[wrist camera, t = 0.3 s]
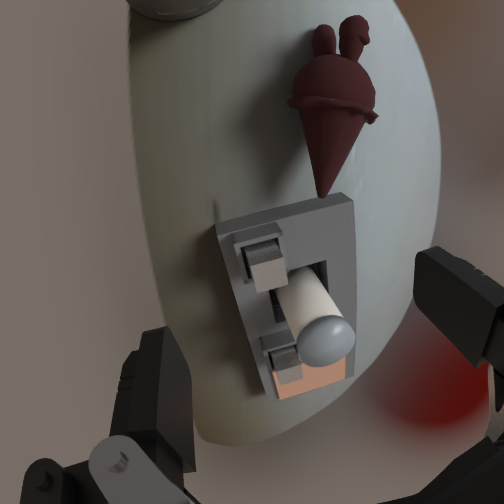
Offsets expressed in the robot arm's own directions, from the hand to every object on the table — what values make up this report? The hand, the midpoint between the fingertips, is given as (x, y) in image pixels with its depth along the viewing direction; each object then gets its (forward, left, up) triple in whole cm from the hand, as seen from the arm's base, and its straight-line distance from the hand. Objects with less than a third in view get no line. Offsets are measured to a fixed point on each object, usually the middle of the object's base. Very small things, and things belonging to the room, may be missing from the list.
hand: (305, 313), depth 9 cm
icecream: (-5, +8, -19) cm, 21 cm away
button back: (+18, +1, -14) cm, 23 cm away
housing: (+17, +3, -18) cm, 25 cm away
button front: (+6, 0, -14) cm, 16 cm away
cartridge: (+12, +3, -18) cm, 22 cm away
